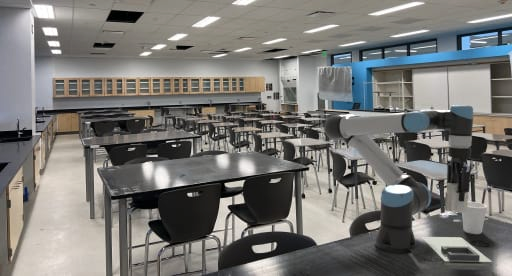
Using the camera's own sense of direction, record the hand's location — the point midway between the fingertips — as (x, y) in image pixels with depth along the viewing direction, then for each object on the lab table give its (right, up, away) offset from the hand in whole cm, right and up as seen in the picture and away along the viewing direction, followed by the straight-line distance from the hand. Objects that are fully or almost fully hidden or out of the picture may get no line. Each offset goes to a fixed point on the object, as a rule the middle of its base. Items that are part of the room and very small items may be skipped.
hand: (456, 207), depth 144 cm
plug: (0, -1, 0) cm, 1 cm away
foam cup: (+16, -15, +16) cm, 27 cm away
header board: (-2, -17, -1) cm, 17 cm away
